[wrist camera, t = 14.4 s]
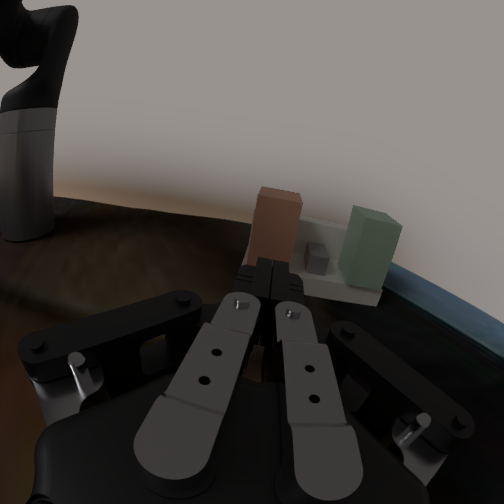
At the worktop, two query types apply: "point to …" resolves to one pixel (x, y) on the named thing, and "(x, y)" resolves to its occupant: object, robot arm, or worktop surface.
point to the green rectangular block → (368, 248)
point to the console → (323, 262)
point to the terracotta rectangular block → (274, 225)
